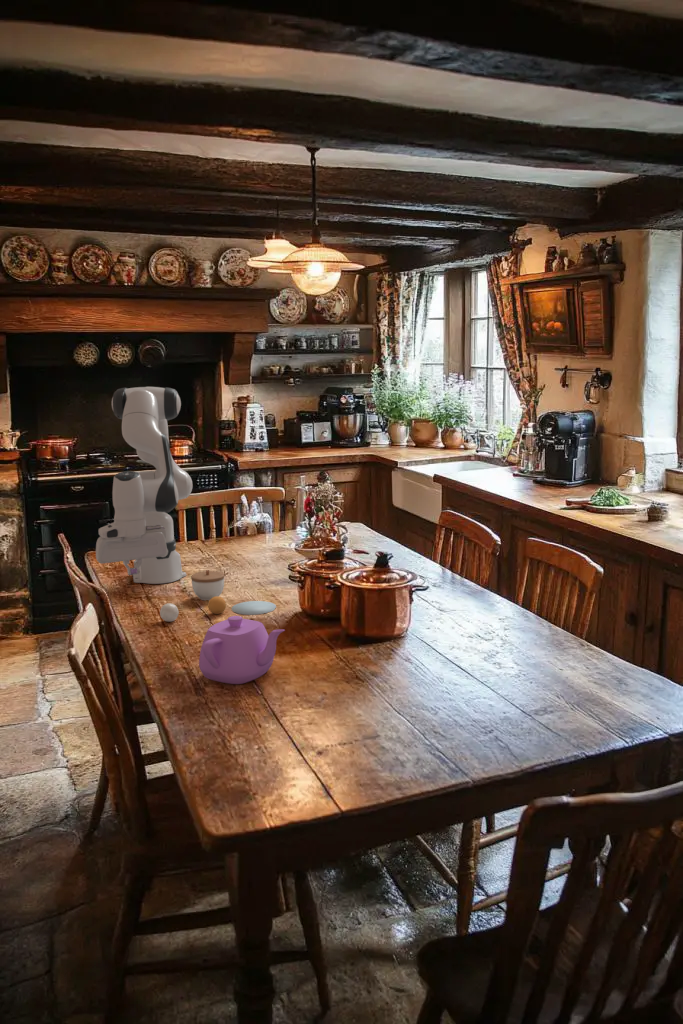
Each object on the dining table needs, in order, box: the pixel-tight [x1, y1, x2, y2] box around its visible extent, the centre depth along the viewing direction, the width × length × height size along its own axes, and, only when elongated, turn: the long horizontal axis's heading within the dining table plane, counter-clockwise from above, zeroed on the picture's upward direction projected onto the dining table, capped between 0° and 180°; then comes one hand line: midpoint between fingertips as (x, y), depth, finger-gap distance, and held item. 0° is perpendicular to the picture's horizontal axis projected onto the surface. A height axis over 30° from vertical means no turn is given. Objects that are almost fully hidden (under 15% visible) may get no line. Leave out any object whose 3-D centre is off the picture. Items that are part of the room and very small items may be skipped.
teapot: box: [198, 615, 286, 685], centre depth 211 cm, size 23×21×15 cm
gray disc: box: [231, 600, 277, 616], centre depth 271 cm, size 14×14×1 cm
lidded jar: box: [191, 569, 225, 601], centre depth 282 cm, size 11×11×9 cm
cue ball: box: [159, 602, 180, 623], centre depth 258 cm, size 6×6×6 cm
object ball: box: [207, 595, 227, 615], centre depth 265 cm, size 6×6×6 cm
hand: (133, 574), depth 251 cm, fingers closed
